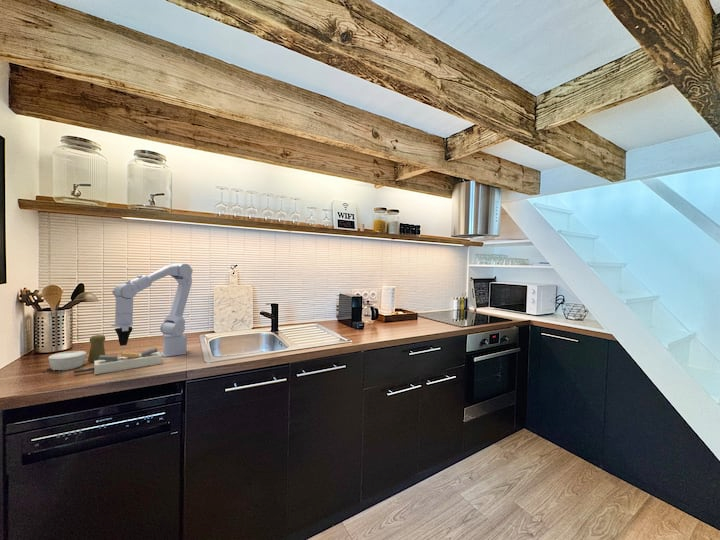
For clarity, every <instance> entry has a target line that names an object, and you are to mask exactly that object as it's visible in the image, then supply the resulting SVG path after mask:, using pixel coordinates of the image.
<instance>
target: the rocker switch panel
mask: <svg viewBox="0 0 720 540" xmlns="http://www.w3.org/2000/svg"><path fill="white" fill-rule="evenodd" d="M162 362H163V355H162V354H161V351H158V352H156V353H152V354H149V355H146V356H143V357H142V355H141V353H139V356H138V357H122V356H119V357H118V358H117V360H96V361H94V362H93V363H94V364H93V367H89V368H88V367H87V368H83V369H76V370H74V369H73V374H78V373H85V372H92V371H93V374H94V375H99V374H104V373H106V374H107V373H111V372H118V371H124V370H129V369H130V370H131V369H136V368H141V367H148V365H149V366H154V365H159V364H160V365H162Z"/></svg>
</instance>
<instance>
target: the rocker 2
mask: <svg viewBox="0 0 720 540" xmlns="http://www.w3.org/2000/svg"><path fill="white" fill-rule="evenodd" d="M156 352H159V351H158V348H157V347H154V348H150V349H147V350H143V351H141V352H140V354H141V355H142V357H143V356H146V355H149V354H152V353H156Z"/></svg>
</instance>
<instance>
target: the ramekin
mask: <svg viewBox="0 0 720 540" xmlns="http://www.w3.org/2000/svg"><path fill="white" fill-rule="evenodd" d="M87 354H88V353H87V352H86V351H85V350H71V351H69V350H68V351H63V352H62V351H61V352H57V353H54V354H50V355H49V356H48V357H47V358H48V359H47V360H48V362H49V367H50V370H52V371H55V370H59V371H60V370H62V371H69V369H70V370H74V369H77V367H78V368H79V367H80V368H81V367H82V366H83V365H84V364H85V361H86V356H87ZM59 371H58V372H59ZM60 372H61V371H60Z"/></svg>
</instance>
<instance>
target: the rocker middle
mask: <svg viewBox="0 0 720 540" xmlns="http://www.w3.org/2000/svg"><path fill="white" fill-rule="evenodd" d="M139 354H140V353H139V352H132V351H131V352H128V351H122V352H121V356H120V357H138V356H139Z"/></svg>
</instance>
